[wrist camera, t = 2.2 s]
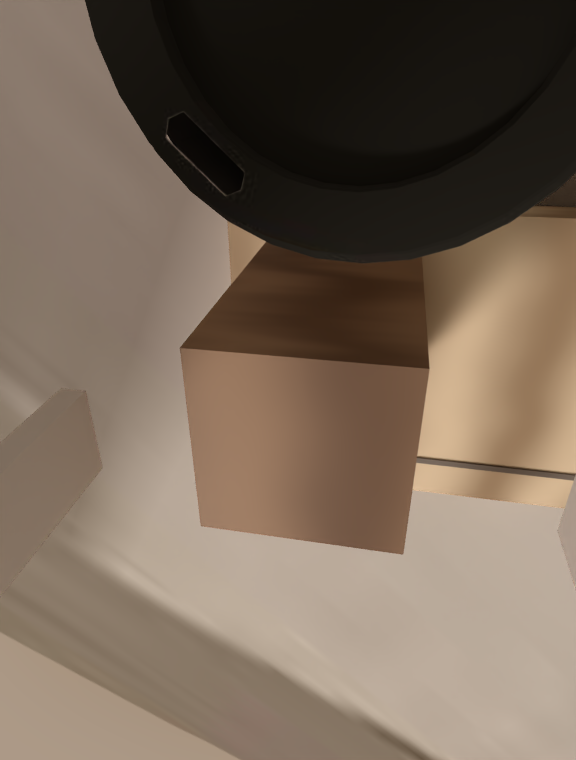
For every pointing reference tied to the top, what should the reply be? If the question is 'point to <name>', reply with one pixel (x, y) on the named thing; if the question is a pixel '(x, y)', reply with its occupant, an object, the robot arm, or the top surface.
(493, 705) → the top surface
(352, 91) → the coffee cup
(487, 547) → the top surface
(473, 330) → the board
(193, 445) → the brown box
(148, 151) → the top surface
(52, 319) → the top surface
